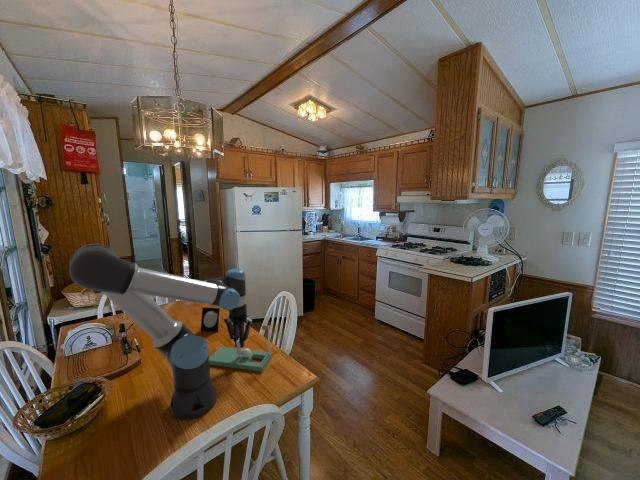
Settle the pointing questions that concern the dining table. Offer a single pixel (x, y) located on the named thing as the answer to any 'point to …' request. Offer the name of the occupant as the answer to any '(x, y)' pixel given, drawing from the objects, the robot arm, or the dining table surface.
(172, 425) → the dining table surface
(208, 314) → the decorative object
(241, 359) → the putting board
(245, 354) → the ball
